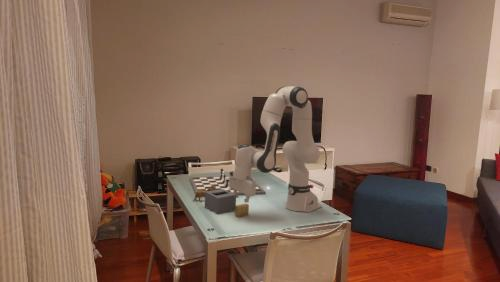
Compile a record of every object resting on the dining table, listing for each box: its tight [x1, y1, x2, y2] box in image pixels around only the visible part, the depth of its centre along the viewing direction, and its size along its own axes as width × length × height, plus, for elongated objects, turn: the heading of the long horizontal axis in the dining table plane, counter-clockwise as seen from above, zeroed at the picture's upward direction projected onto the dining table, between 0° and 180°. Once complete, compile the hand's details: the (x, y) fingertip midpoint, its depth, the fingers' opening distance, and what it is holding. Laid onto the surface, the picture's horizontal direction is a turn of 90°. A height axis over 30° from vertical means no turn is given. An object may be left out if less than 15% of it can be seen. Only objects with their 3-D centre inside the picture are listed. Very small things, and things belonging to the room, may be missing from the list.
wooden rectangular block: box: [235, 203, 250, 219], centre depth 197 cm, size 7×2×6 cm, turn 127°
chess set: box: [189, 168, 266, 199], centre depth 254 cm, size 45×45×11 cm
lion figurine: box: [192, 186, 216, 203], centre depth 220 cm, size 15×5×9 cm, turn 116°
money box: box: [204, 189, 237, 215], centre depth 207 cm, size 12×14×9 cm
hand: (241, 199), depth 196 cm, fingers open, 8 cm apart
